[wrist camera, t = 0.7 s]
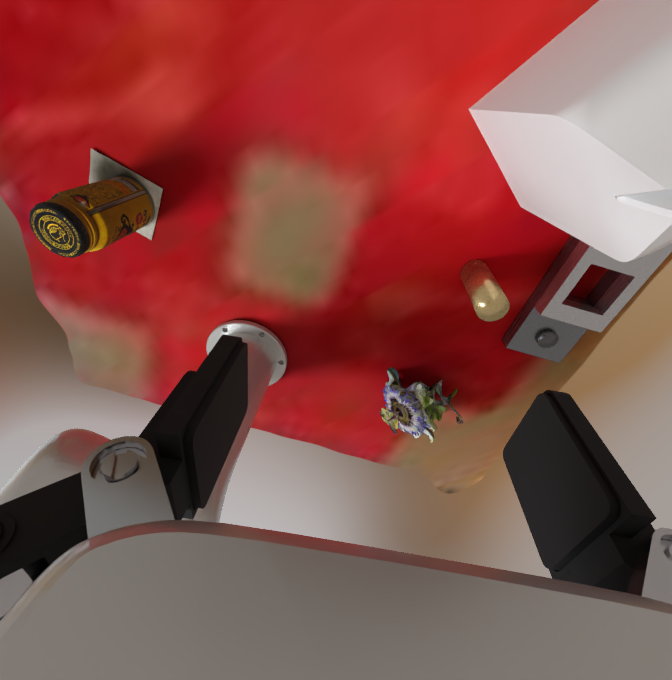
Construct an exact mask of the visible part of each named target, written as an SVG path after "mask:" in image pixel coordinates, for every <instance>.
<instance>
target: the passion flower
mask: <svg viewBox="0 0 672 680" xmlns="http://www.w3.org/2000/svg"><path fill="white" fill-rule="evenodd" d="M387 372H388V376H389V381H388V382H386V386H385V387H384V389H383V394H384V398H385V399H384V401H386V402H387V404H386V405H385V406H386V409H385V408H382V411H380V414H381V416H382V419H383V420H384V421H385V422H386V423H387V424H388V425H390V428H391V430H392V431H393V433H394V434H397V429H398V428H401V430H403V431H404V432H407V431H408V433H410V434H413V435H414V436H413V437H415V438H418V437H419V436H420V435H421V433H423V432H424V433H426V434H427V435H429V437H430V440H431V442H434V434H433V432H432V431H431V430H430V429H433V431H436V430H437V427H436V425H435V424H434V422H433V420H434V419H437V420H438V421H440V420H441V418H442V414H443V412H445V410H447V408H446V407H445V406H444V405H449V407H450V408H451V409H452V410H453V411H454V412H455V413H456V414H457V415H458V416H459V417H460V418H461V419H462V417H461V416H460V414H459V413H458V412H457V411H456V410H455V409H454V408H453V407H452V406H451V405H450V401H451V399H452V398H453V396H454V395H455V394H456V393H457V388H456V389H455V390H454V391H453V392H452V393H451V394H450V395H449V396H448V397H443V396H442V393H441V385H442V380H443V379H441V380H440V381H439V382H438V383H435V384H433V385H432V386H429V387H428V386H426V385H425V384H424V383H422V382H421V381H417V382H414V383H413V384H412V385H410V386H409V387H408V388H403V387H402V385H401V382H400V379H399V374H398V372H397V370H396V369H394V368H392V367H390V368H389V369H388V370H387ZM426 391H428V392H427V393H426ZM435 392H437V393H438V395H439V396H440V397H441V399H442V400H441V401H437V400H435V398H434V395H435ZM459 417H456V419H457V423H458V424H460V425H461V424H462V423H463V419H462V420H460V419H459ZM424 433H423V435H424Z"/></svg>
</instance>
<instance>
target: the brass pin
mask: <svg viewBox="0 0 672 680" xmlns="http://www.w3.org/2000/svg"><path fill="white" fill-rule="evenodd" d="M460 276H461V279H462V281H463V283H464V286H465V288H466V290H467V293H468V295H469V297H470V300H471V302H472V304H473V307H474V309H475V311H476V314H477V316H478V317H479V318H480V319H482V320H484V321H496V320H499V319H501V318H502V317H504V316H505V315H506V313H507V312H508V310H509V307H510V304H509V301H508V299H507V297H506V296H505V294H504V292H503V291H502V289H501V287H500V286H499V284H498V283H497V281H496V279H495V278H494V276H493V274H492V273H491V271H490V270H489V268H488V266H487V265H486V263H485V262H483V261H481V260H471V261H469V262H467V263H466V264H465V265H464V266H463V267H462V269H461V272H460Z"/></svg>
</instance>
